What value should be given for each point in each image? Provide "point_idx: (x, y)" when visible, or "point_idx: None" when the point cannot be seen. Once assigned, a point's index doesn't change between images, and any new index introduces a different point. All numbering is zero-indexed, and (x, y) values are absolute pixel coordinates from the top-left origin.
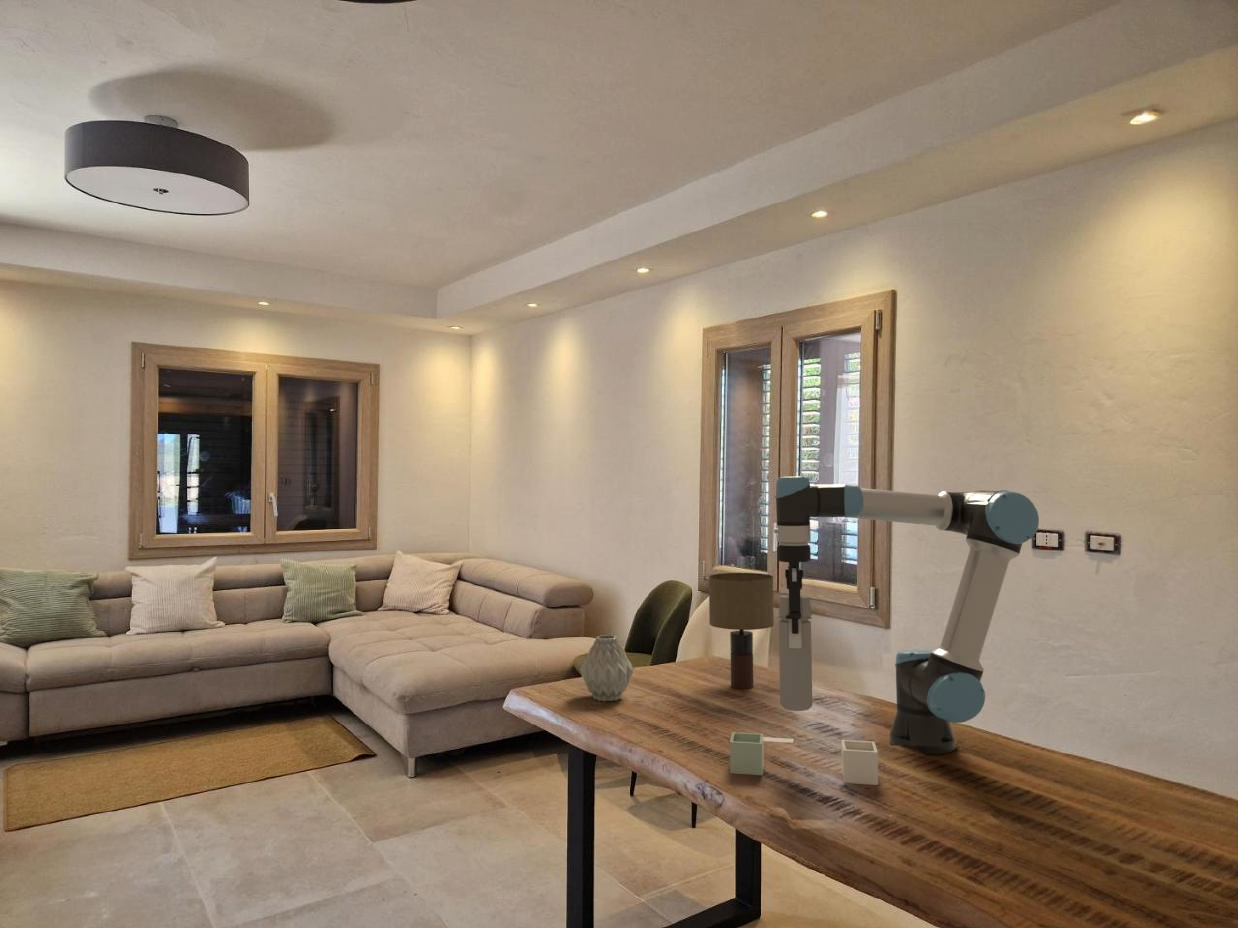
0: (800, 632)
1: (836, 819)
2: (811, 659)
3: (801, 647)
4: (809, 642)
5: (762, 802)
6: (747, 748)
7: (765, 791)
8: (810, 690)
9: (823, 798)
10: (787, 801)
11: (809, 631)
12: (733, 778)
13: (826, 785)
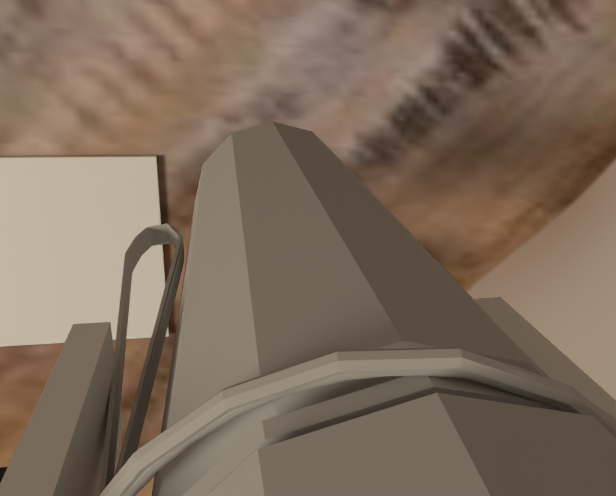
0: (591, 390)
1: (594, 41)
2: (308, 178)
3: (503, 301)
4: (413, 244)
5: (496, 227)
6: None
7: (427, 224)
8: (322, 145)
9: (464, 69)
10: (488, 167)
11: (449, 293)
12: None
13: (366, 53)
